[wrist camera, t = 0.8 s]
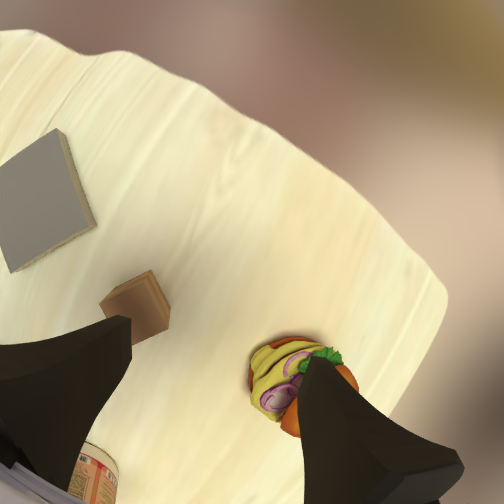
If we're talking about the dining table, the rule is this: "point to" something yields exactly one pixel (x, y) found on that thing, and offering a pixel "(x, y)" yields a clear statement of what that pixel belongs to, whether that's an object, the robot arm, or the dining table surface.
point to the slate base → (41, 201)
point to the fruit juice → (94, 477)
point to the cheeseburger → (287, 378)
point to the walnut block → (139, 306)
